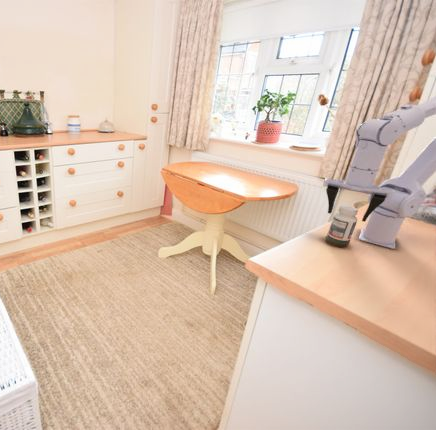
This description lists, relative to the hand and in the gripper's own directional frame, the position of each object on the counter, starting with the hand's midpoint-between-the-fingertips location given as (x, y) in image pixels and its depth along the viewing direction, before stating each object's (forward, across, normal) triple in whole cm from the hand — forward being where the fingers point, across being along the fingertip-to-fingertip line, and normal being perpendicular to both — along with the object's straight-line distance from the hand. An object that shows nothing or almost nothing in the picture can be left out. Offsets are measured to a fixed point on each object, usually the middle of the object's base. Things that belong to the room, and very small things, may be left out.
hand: (346, 216), depth 80 cm
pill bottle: (+7, 0, 0) cm, 7 cm away
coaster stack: (+8, 0, 0) cm, 8 cm away
